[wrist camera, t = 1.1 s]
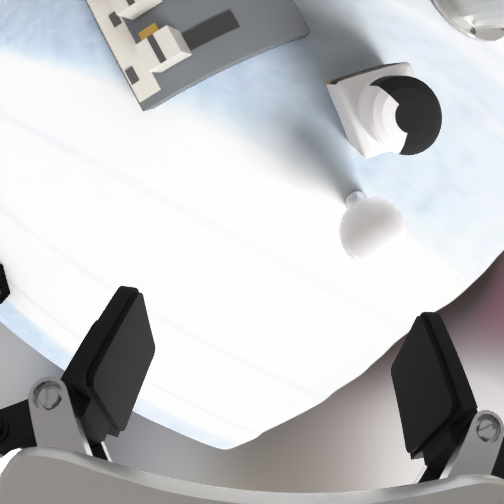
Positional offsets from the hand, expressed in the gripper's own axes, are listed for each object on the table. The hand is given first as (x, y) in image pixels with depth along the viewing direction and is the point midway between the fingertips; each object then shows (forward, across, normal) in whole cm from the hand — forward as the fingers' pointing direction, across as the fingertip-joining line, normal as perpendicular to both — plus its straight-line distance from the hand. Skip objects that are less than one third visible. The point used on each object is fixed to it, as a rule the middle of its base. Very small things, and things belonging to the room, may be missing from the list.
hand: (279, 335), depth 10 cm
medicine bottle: (+26, -8, -6) cm, 28 cm away
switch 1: (+23, +15, -17) cm, 32 cm away
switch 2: (+23, +11, -11) cm, 27 cm away
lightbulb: (+26, -9, +5) cm, 28 cm away
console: (+26, +12, -18) cm, 34 cm away
